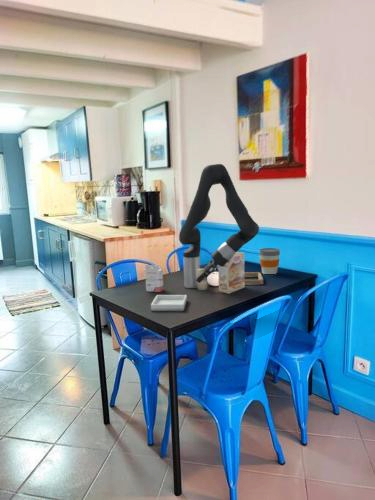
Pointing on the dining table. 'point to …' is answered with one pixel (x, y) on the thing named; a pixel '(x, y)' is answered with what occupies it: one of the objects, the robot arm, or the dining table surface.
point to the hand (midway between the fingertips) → (198, 280)
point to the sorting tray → (169, 303)
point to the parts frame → (253, 282)
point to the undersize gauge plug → (203, 283)
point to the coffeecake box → (232, 274)
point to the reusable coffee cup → (269, 260)
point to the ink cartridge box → (153, 278)
